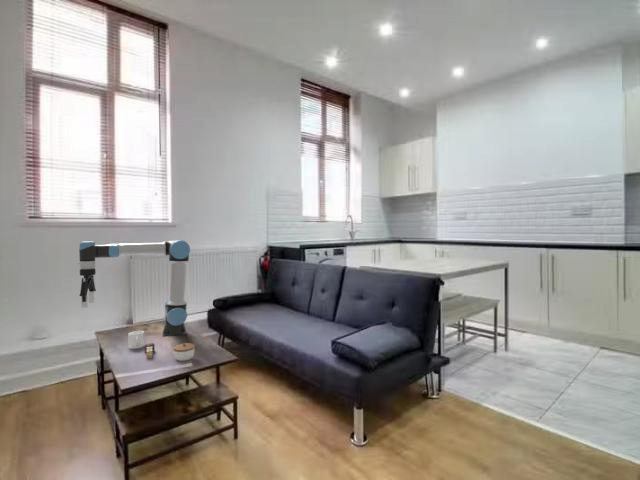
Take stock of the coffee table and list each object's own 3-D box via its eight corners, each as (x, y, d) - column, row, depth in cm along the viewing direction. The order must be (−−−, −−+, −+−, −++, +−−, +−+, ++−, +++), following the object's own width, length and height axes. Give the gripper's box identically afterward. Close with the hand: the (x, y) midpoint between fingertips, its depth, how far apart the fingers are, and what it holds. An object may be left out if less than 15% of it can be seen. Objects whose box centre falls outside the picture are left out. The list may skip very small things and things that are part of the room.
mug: (129, 354, 194) (129, 337, 194) (128, 348, 204) (128, 331, 204) (144, 351, 198) (144, 335, 198) (143, 345, 208) (143, 329, 208)
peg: (144, 350, 195) (144, 343, 195) (154, 349, 198) (154, 342, 197) (144, 359, 183) (144, 351, 183) (154, 357, 185) (154, 350, 185)
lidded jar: (177, 357, 191) (177, 340, 190) (197, 356, 192) (197, 340, 191) (170, 364, 180) (170, 347, 180) (191, 364, 181) (191, 346, 181)
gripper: (86, 266, 207) (86, 301, 207) (72, 271, 183) (73, 310, 184) (100, 265, 209) (101, 300, 210) (89, 270, 186) (89, 309, 186)
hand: (88, 304), depth 197 cm, fingers open, 13 cm apart
